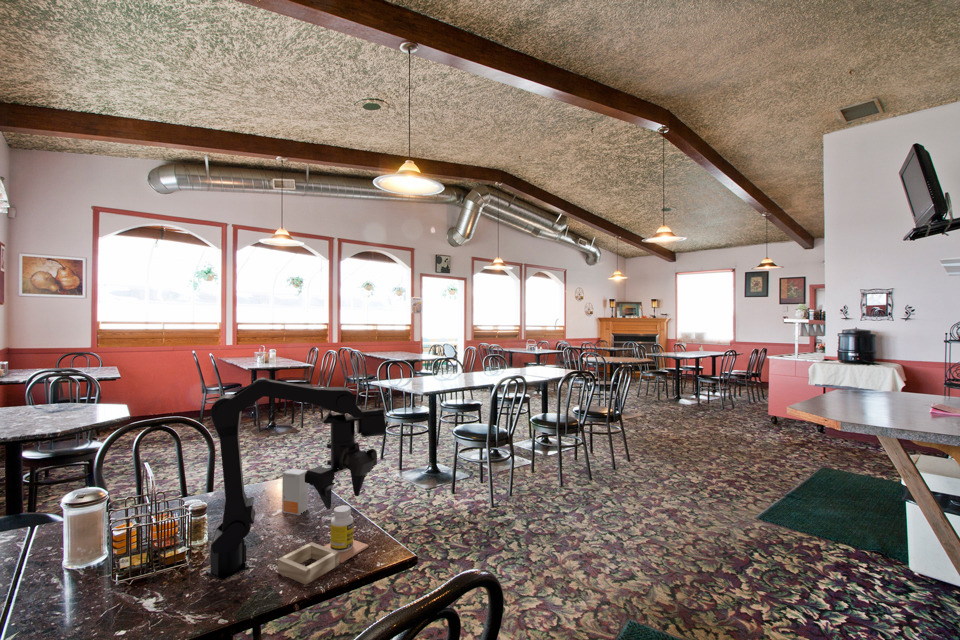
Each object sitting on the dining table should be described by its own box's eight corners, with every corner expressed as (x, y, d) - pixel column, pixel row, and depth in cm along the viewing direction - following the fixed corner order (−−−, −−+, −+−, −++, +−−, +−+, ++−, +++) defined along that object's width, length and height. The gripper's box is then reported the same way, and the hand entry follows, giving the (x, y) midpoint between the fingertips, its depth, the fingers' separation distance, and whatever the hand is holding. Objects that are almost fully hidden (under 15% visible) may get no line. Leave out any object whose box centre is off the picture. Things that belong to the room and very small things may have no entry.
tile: (341, 563, 110) (341, 561, 110) (314, 553, 115) (314, 551, 115) (368, 546, 118) (368, 544, 118) (342, 538, 122) (342, 536, 122)
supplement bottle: (349, 553, 113) (349, 513, 113) (327, 553, 113) (327, 513, 113) (355, 542, 119) (356, 504, 119) (334, 542, 119) (334, 504, 119)
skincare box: (281, 513, 137) (281, 472, 137) (291, 507, 142) (291, 467, 141) (299, 515, 136) (299, 474, 136) (308, 510, 140) (308, 469, 140)
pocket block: (305, 584, 101) (305, 571, 101) (277, 572, 106) (277, 559, 106) (339, 564, 109) (339, 552, 109) (311, 554, 114) (311, 542, 114)
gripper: (336, 453, 104) (337, 524, 104) (393, 435, 120) (393, 495, 120) (302, 446, 109) (303, 513, 110) (361, 429, 125) (361, 487, 126)
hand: (343, 502), depth 116 cm, fingers open, 9 cm apart
